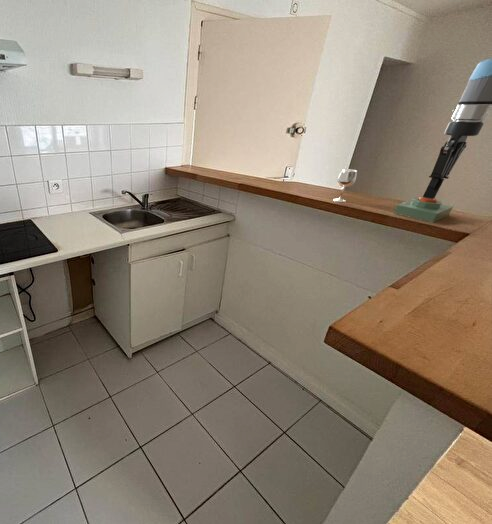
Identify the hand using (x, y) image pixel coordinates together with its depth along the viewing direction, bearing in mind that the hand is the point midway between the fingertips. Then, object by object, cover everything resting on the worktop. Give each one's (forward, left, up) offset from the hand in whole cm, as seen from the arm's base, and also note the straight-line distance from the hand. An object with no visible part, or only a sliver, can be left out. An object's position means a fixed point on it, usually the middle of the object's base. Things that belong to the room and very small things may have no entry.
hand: (428, 197), depth 97 cm
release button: (0, 0, -2) cm, 2 cm away
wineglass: (+15, -20, -6) cm, 26 cm away
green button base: (0, 0, -6) cm, 6 cm away
